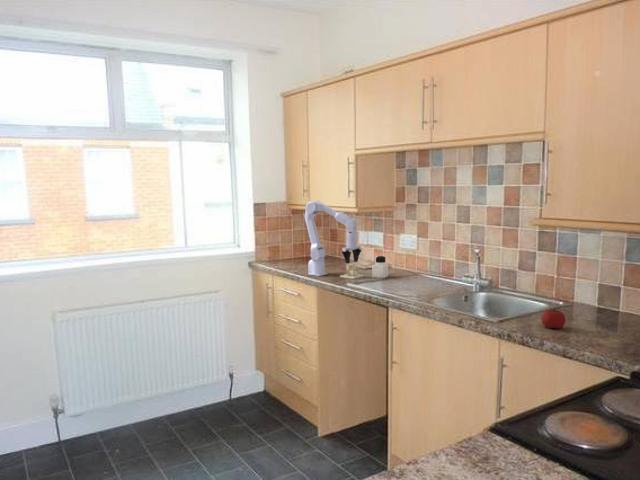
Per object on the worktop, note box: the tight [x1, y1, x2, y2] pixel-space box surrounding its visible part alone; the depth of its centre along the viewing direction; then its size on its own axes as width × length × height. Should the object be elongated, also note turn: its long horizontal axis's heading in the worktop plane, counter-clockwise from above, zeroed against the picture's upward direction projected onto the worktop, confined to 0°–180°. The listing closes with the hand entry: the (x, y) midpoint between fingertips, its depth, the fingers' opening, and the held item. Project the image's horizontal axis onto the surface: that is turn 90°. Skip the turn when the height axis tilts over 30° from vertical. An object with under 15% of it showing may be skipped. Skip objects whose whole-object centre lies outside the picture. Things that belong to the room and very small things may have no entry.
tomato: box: [540, 308, 566, 330], centre depth 185 cm, size 8×8×7 cm
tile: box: [339, 273, 365, 280], centre depth 292 cm, size 10×10×1 cm
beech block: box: [346, 264, 359, 276], centre depth 291 cm, size 4×4×6 cm
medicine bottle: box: [371, 255, 389, 279], centre depth 290 cm, size 7×7×12 cm
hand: (351, 262), depth 291 cm, fingers open, 7 cm apart
